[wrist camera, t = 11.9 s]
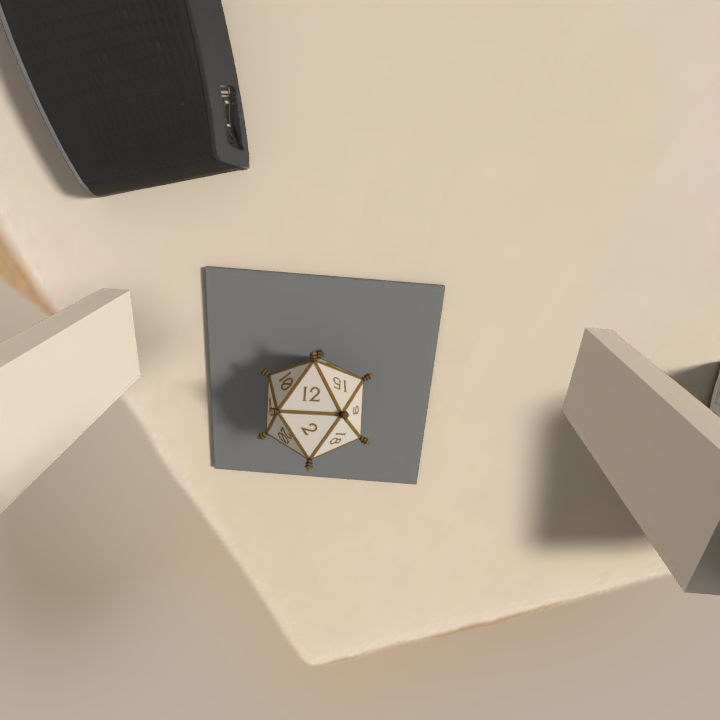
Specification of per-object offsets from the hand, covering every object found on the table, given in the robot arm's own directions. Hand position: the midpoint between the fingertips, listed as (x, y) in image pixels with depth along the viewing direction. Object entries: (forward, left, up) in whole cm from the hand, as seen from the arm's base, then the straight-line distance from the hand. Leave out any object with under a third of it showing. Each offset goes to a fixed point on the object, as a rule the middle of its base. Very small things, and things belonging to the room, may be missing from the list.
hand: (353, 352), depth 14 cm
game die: (+12, -3, -23) cm, 26 cm away
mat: (+12, -3, -23) cm, 26 cm away
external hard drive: (-12, -16, -24) cm, 31 cm away
